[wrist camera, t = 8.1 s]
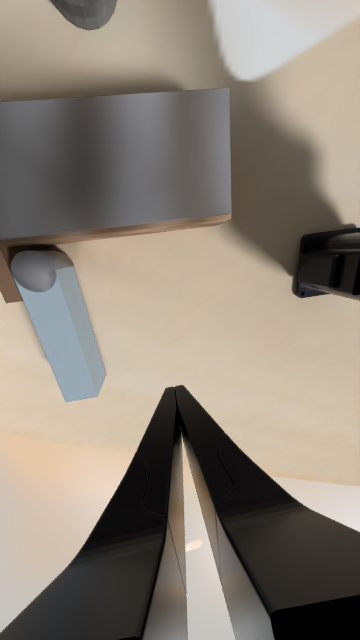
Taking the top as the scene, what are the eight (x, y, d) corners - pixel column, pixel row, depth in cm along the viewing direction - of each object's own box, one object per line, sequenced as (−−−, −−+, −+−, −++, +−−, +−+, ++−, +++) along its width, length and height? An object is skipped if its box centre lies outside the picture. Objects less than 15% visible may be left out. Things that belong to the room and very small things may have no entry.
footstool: (211, 130, 15) (234, 80, 11) (217, 268, 19) (236, 274, 15) (-25, 148, 14) (-110, 100, 10) (33, 293, 18) (-8, 307, 13)
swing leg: (106, 374, 21) (97, 396, 18) (79, 379, 21) (65, 402, 18) (68, 248, 17) (47, 248, 13) (33, 252, 16) (3, 253, 13)
